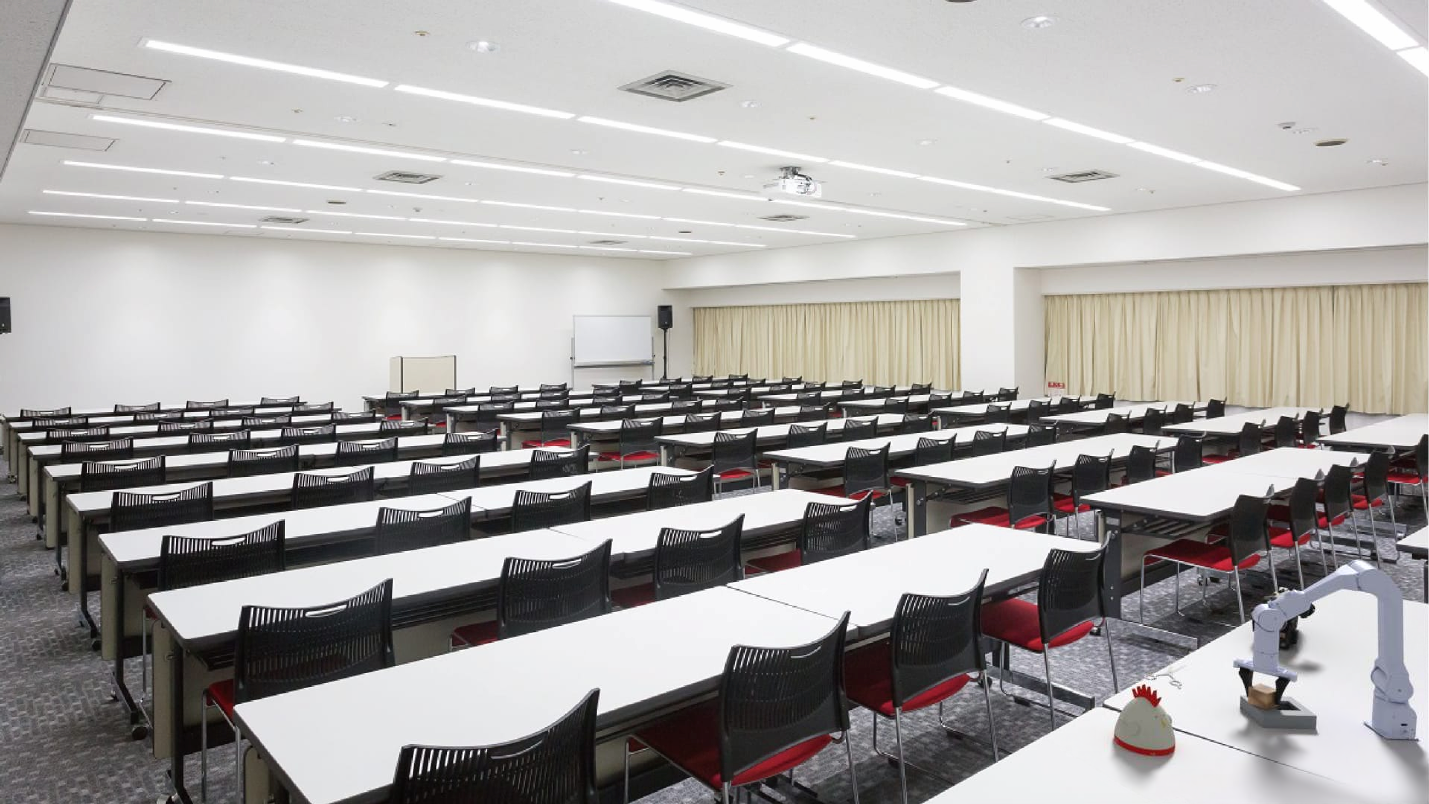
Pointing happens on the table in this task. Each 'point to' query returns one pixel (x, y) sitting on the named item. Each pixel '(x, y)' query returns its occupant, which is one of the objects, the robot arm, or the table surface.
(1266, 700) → the peg
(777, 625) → the table surface
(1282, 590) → the movie camera
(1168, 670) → the scissors
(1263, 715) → the square hole plate
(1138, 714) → the kitchen timer
